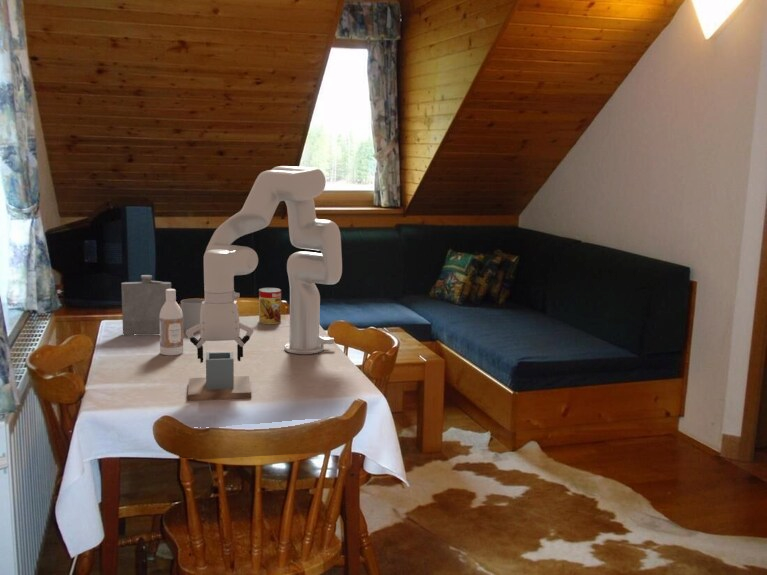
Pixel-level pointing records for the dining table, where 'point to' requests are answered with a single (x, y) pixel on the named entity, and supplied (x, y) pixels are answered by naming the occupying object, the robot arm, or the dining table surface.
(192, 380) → the base
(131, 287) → the hip flask
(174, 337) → the bath foam
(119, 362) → the dining table surface
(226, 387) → the duct sleeve
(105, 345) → the dining table surface
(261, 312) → the canned food
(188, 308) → the cup
